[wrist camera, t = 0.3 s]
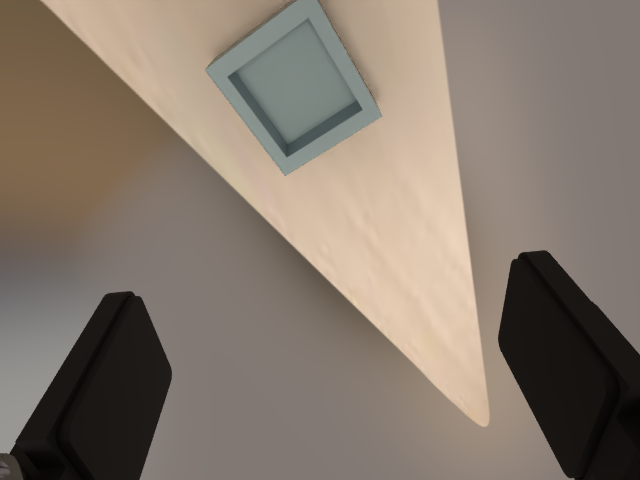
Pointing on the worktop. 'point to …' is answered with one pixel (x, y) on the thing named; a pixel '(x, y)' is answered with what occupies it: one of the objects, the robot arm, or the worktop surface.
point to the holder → (295, 85)
